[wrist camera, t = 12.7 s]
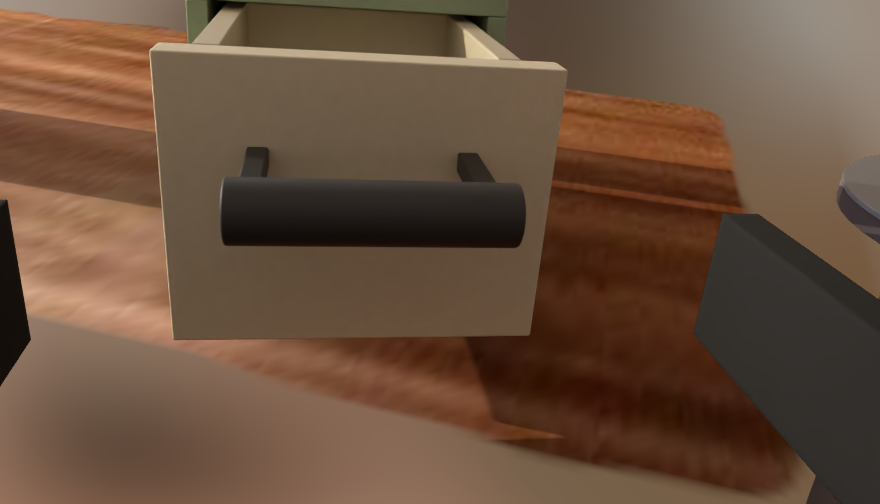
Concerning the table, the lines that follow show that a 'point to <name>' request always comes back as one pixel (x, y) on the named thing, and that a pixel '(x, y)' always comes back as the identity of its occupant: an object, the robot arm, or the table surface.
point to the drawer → (352, 175)
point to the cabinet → (477, 3)
